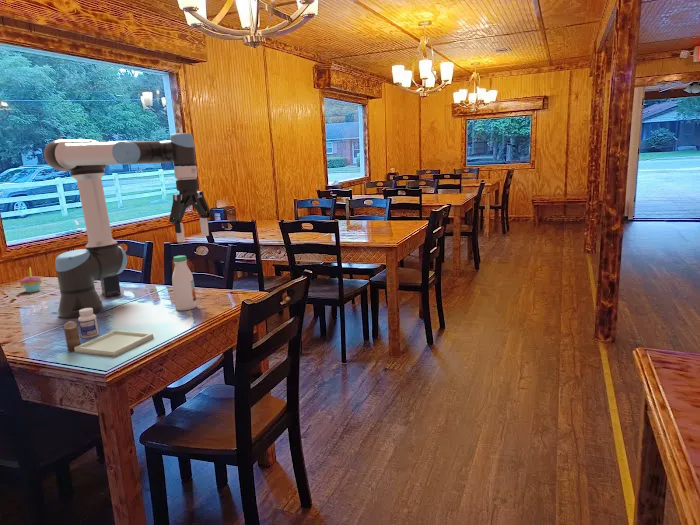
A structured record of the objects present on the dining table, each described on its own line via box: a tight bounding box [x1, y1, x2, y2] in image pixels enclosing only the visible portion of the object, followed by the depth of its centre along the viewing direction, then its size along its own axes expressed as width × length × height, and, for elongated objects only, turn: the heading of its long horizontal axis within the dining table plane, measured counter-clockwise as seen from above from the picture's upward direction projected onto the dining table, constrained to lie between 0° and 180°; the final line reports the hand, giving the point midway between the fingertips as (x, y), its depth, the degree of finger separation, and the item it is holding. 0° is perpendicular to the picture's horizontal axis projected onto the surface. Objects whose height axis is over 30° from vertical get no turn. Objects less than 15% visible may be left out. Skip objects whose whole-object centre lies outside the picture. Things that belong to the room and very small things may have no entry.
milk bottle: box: [171, 255, 197, 311], centre depth 188 cm, size 8×8×20 cm
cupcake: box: [19, 267, 43, 293], centre depth 231 cm, size 9×8×12 cm
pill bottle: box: [77, 308, 100, 339], centre depth 164 cm, size 5×5×9 cm
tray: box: [74, 329, 154, 358], centre depth 154 cm, size 16×16×2 cm
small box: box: [99, 274, 121, 298], centre depth 218 cm, size 11×6×10 cm, turn 34°
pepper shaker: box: [63, 320, 82, 353], centre depth 152 cm, size 4×4×9 cm
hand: (193, 238), depth 180 cm, fingers open, 13 cm apart
